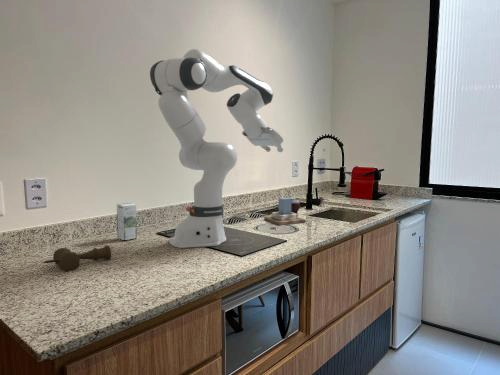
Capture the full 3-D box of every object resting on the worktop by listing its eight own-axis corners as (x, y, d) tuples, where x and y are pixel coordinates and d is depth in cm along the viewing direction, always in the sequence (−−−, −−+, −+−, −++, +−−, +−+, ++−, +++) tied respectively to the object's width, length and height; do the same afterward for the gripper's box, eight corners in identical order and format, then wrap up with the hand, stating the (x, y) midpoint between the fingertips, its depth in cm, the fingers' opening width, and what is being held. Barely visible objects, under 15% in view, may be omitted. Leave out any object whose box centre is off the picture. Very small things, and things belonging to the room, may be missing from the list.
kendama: (115, 264, 123) (47, 276, 111) (104, 258, 131) (40, 268, 118) (114, 246, 123) (46, 255, 110) (104, 241, 130) (39, 249, 118)
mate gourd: (302, 214, 207) (302, 187, 206) (291, 215, 203) (291, 188, 201) (293, 212, 213) (293, 186, 212) (282, 213, 209) (282, 186, 207)
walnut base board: (279, 225, 179) (279, 217, 179) (264, 219, 192) (264, 212, 192) (305, 222, 186) (305, 214, 185) (289, 217, 199) (289, 209, 198)
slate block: (283, 219, 186) (284, 199, 185) (278, 217, 190) (278, 198, 188) (291, 218, 188) (291, 198, 187) (285, 217, 192) (285, 197, 191)
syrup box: (130, 236, 157) (129, 202, 156) (137, 239, 153) (136, 203, 152) (117, 239, 153) (116, 203, 152) (124, 241, 149) (122, 205, 148)
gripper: (274, 121, 151) (293, 146, 157) (248, 123, 169) (266, 145, 175) (265, 132, 149) (284, 157, 156) (239, 133, 167) (258, 155, 173)
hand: (275, 151), depth 165 cm, fingers open, 8 cm apart
